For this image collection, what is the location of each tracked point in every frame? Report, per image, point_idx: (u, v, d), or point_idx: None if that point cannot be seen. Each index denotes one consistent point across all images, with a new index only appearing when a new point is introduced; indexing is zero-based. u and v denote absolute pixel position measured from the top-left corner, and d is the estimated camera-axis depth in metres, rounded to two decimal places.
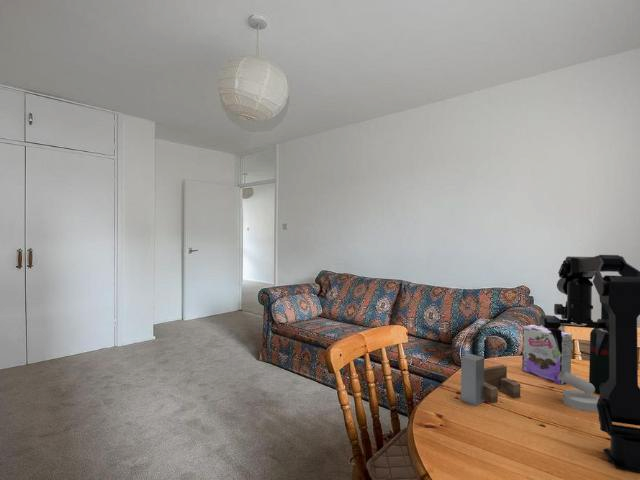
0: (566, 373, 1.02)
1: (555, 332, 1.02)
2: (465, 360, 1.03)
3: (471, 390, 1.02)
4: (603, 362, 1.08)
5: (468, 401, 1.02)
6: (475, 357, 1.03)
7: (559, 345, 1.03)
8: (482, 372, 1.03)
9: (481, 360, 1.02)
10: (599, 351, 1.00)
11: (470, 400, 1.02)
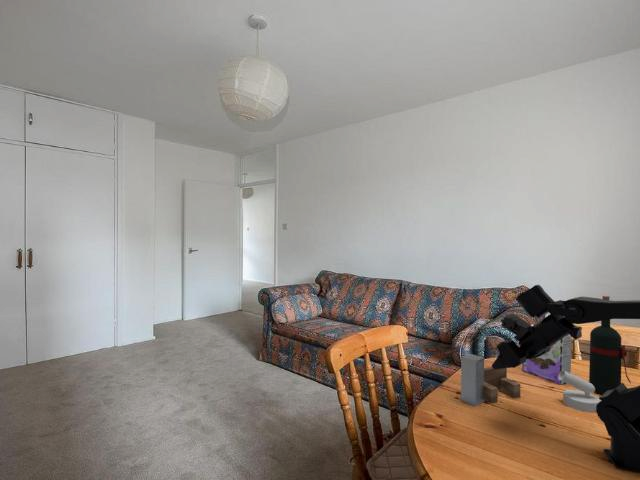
0: (566, 373, 1.02)
1: None
2: (465, 360, 1.03)
3: (471, 390, 1.02)
4: (603, 362, 1.08)
5: (468, 401, 1.02)
6: (475, 357, 1.03)
7: None
8: (482, 372, 1.03)
9: (481, 360, 1.02)
10: None
11: (470, 400, 1.02)
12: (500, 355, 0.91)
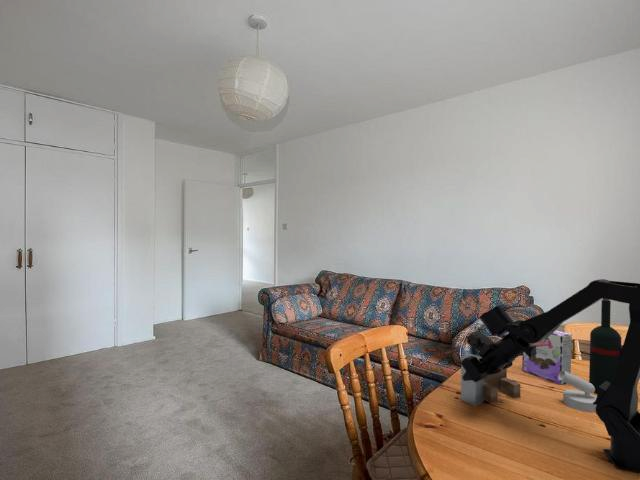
0: (566, 373, 1.02)
1: None
2: None
3: (471, 390, 1.02)
4: (603, 362, 1.08)
5: (468, 401, 1.02)
6: None
7: None
8: None
9: None
10: None
11: (470, 400, 1.02)
12: None
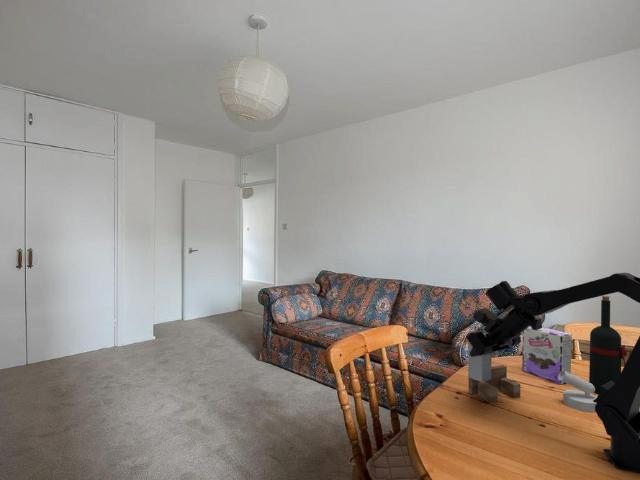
0: (566, 373, 1.02)
1: None
2: None
3: (478, 367, 1.03)
4: (603, 362, 1.08)
5: (475, 377, 1.03)
6: None
7: (477, 355, 1.02)
8: None
9: None
10: None
11: (477, 376, 1.03)
12: None
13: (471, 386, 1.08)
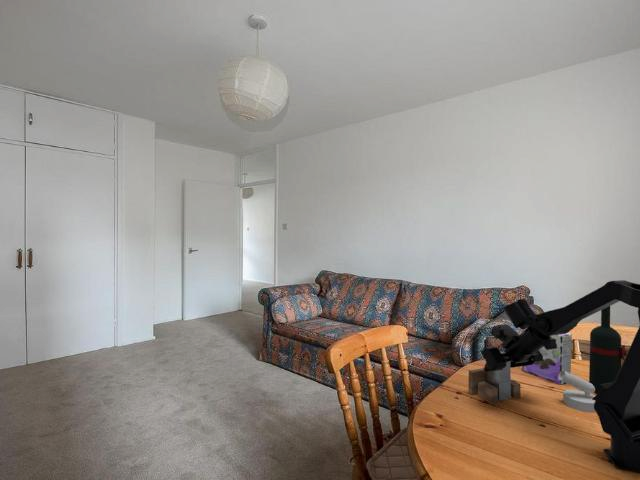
0: (566, 373, 1.02)
1: None
2: None
3: (496, 385, 1.05)
4: (603, 362, 1.08)
5: None
6: (501, 353, 1.07)
7: None
8: (508, 368, 1.06)
9: None
10: (511, 367, 1.08)
11: None
12: None
13: (471, 386, 1.08)
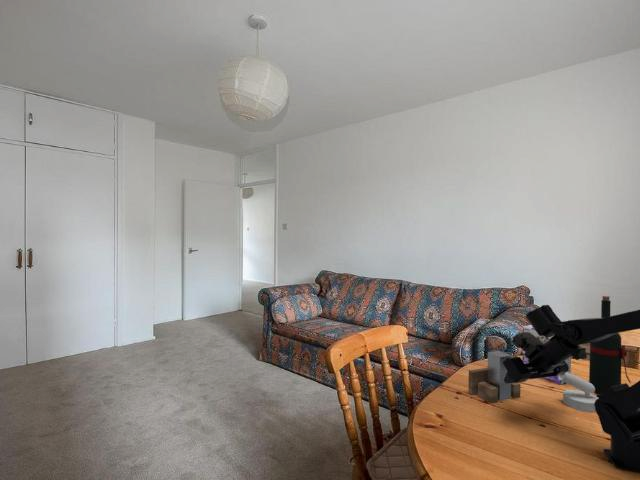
0: (566, 373, 1.02)
1: (519, 382, 0.93)
2: (491, 356, 1.07)
3: (496, 385, 1.05)
4: (603, 362, 1.08)
5: None
6: (502, 354, 1.06)
7: None
8: None
9: None
10: (534, 378, 1.01)
11: None
12: None
13: (471, 386, 1.08)
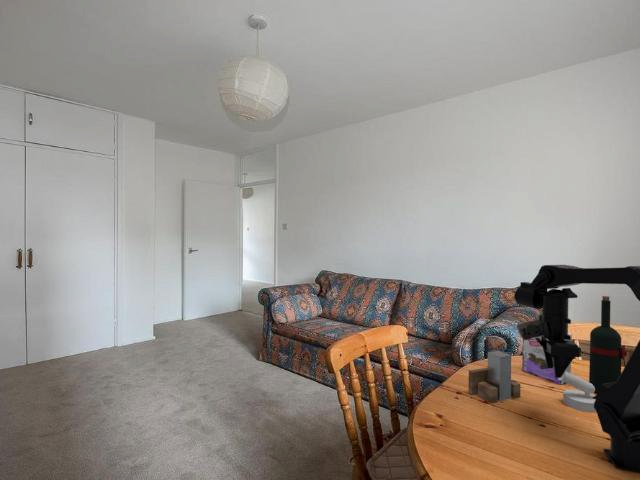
0: (566, 373, 1.02)
1: None
2: (491, 356, 1.07)
3: (496, 385, 1.05)
4: (603, 362, 1.08)
5: None
6: (502, 354, 1.06)
7: None
8: (509, 369, 1.05)
9: (507, 357, 1.05)
10: None
11: None
12: (555, 359, 0.88)
13: (471, 386, 1.08)
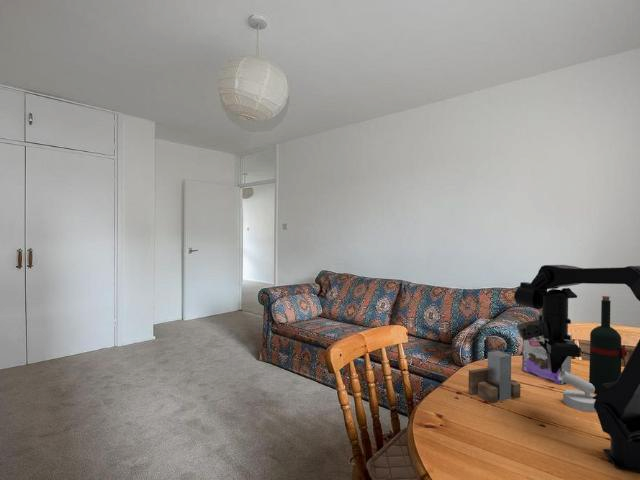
0: (566, 373, 1.02)
1: None
2: (491, 356, 1.07)
3: (496, 385, 1.05)
4: (603, 362, 1.08)
5: None
6: (502, 354, 1.06)
7: None
8: (509, 369, 1.05)
9: (507, 357, 1.05)
10: None
11: None
12: (551, 355, 0.91)
13: (471, 386, 1.08)
